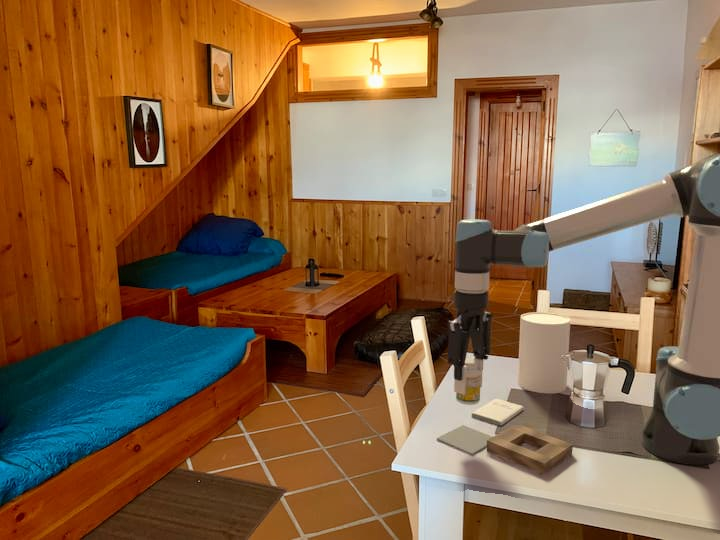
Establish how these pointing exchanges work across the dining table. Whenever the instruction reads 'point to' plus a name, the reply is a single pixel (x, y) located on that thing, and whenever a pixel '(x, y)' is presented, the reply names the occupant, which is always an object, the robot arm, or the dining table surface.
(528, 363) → the canister
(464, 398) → the supplement bottle
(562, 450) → the block
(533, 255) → the robot arm
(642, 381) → the dining table surface
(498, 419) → the external hard drive
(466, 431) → the felt pad
